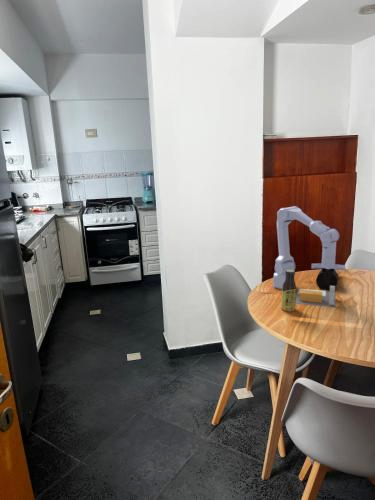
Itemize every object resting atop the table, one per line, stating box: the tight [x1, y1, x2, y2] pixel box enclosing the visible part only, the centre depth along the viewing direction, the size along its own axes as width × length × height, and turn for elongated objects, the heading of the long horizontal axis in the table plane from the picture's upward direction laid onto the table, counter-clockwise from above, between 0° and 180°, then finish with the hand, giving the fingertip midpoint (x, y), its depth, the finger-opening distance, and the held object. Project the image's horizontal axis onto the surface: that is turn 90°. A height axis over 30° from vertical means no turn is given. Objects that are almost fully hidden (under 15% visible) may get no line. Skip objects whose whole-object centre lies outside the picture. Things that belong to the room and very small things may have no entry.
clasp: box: [329, 286, 336, 305], centre depth 171 cm, size 2×9×7 cm, turn 159°
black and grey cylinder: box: [315, 269, 339, 291], centre depth 202 cm, size 10×34×10 cm, turn 155°
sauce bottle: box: [280, 269, 297, 313], centre depth 165 cm, size 6×6×20 cm
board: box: [296, 288, 337, 308], centre depth 179 cm, size 18×20×2 cm
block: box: [300, 290, 322, 303], centre depth 175 cm, size 10×4×4 cm, turn 69°
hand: (327, 283), depth 171 cm, fingers closed
